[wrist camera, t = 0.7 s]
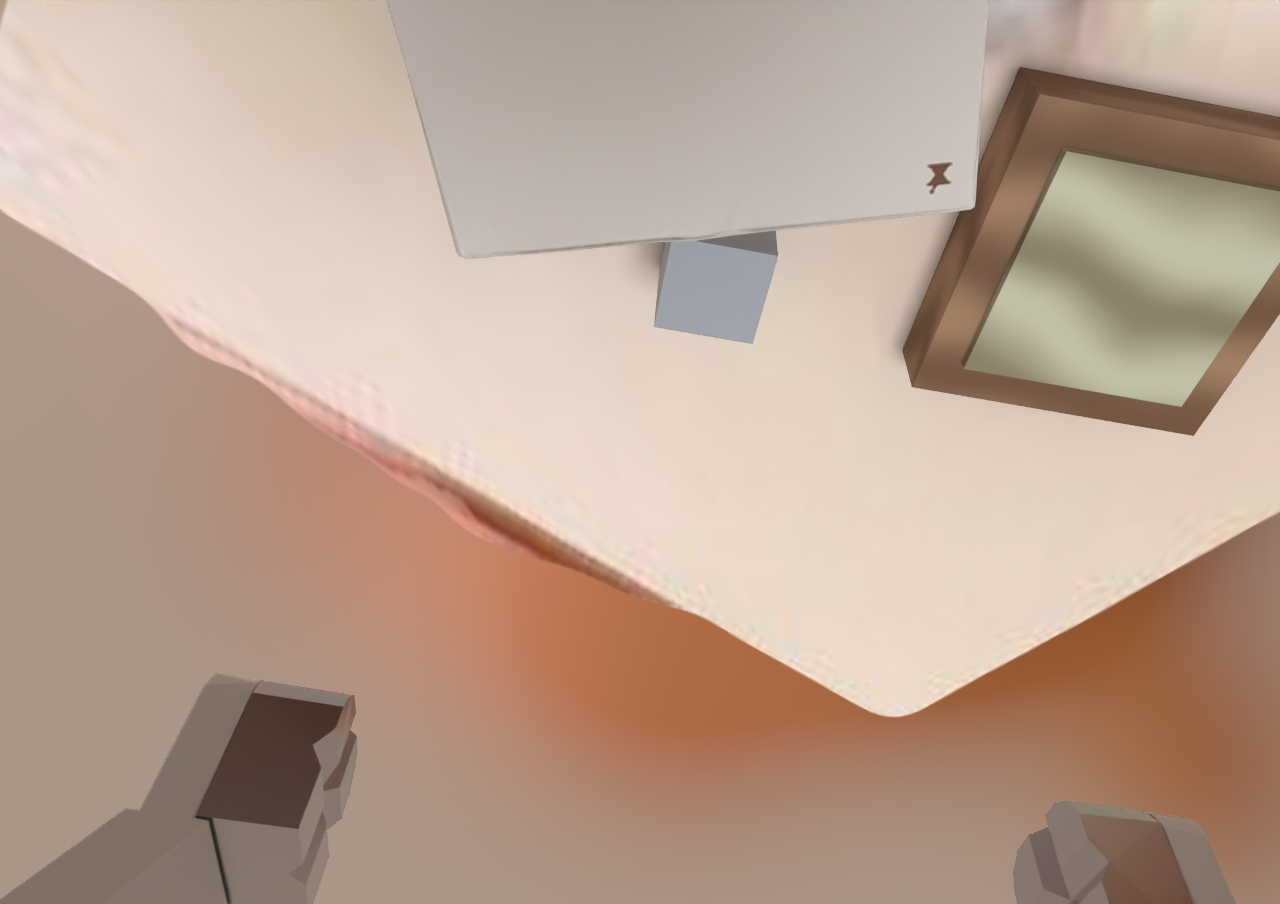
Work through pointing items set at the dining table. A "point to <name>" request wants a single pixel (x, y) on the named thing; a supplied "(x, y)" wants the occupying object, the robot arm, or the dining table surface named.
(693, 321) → the slate block
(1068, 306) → the walnut stand
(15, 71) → the dining table surface
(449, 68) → the supplement box
